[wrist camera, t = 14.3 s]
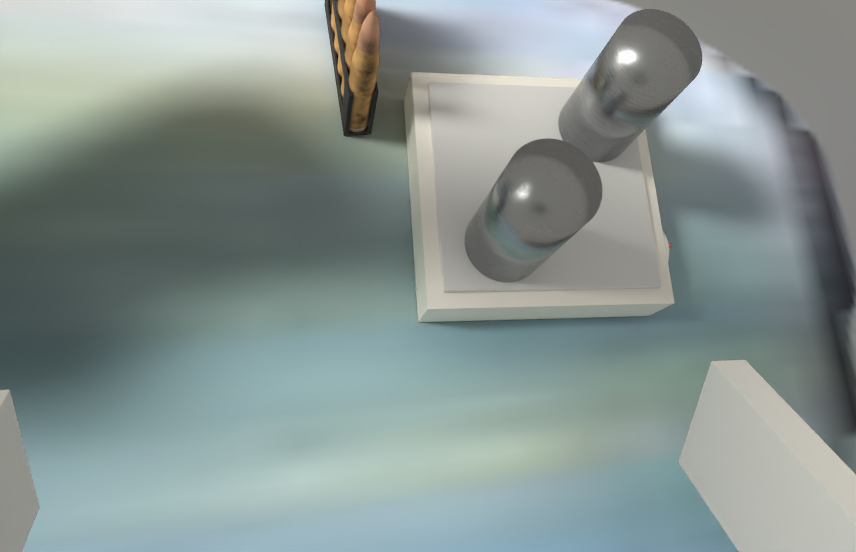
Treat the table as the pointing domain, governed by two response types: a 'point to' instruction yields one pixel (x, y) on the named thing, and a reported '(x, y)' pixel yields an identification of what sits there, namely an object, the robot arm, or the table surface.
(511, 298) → the scale
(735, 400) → the robot arm
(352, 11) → the ammunition clip
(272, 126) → the table surface
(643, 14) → the cylinder
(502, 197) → the ball
